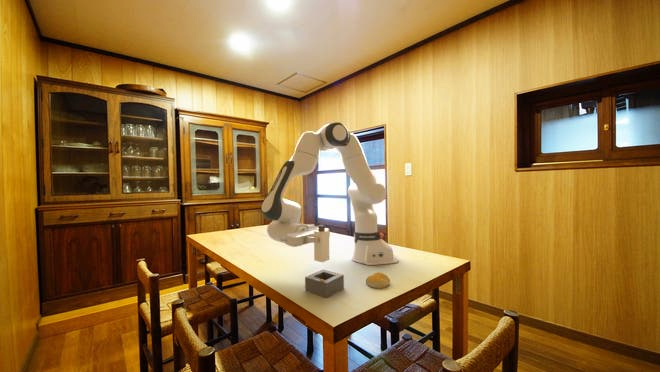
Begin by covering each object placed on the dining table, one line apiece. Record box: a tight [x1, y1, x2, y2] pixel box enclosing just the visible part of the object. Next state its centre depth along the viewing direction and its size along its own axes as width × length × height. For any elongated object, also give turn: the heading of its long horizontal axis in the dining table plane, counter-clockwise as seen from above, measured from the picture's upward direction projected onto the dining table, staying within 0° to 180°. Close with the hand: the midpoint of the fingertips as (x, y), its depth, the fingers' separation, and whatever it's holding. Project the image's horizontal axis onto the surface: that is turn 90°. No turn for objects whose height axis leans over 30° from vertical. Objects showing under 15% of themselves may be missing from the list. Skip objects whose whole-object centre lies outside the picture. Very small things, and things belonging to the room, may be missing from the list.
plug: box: [313, 224, 330, 263], centre depth 99 cm, size 4×4×13 cm
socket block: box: [304, 269, 345, 299], centre depth 97 cm, size 10×10×5 cm
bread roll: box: [365, 271, 391, 289], centre depth 101 cm, size 8×9×4 cm
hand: (323, 239), depth 98 cm, fingers closed on plug, 4 cm apart
